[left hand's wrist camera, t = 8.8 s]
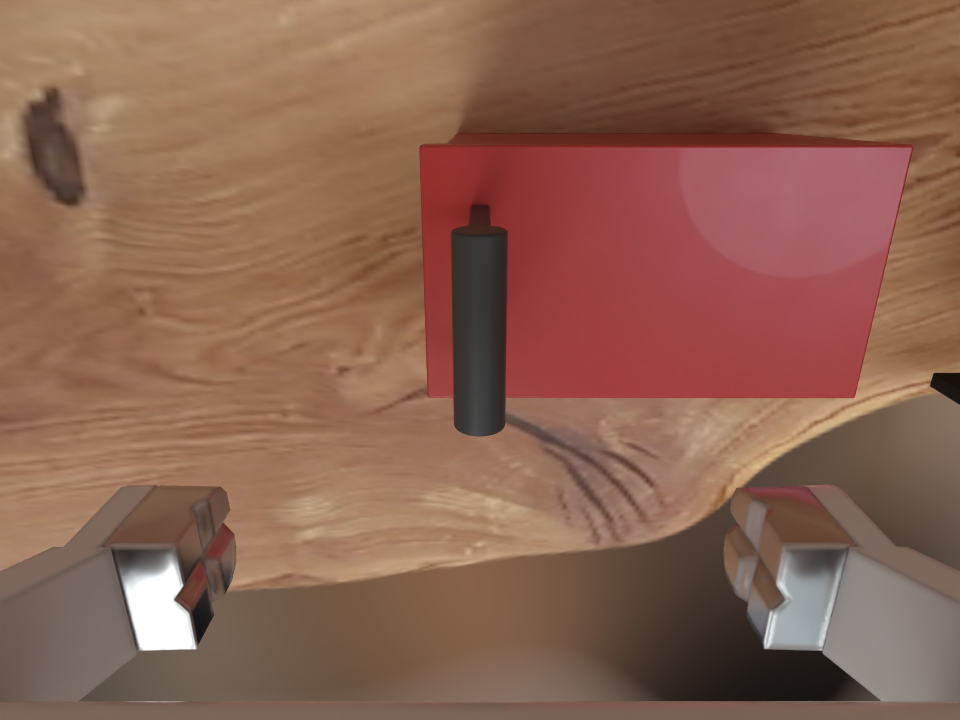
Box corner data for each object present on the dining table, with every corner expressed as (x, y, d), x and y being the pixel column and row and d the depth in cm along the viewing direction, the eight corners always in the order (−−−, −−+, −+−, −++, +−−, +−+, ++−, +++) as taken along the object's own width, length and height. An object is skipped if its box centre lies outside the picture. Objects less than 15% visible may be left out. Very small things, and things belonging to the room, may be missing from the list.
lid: (429, 386, 28) (410, 491, 20) (421, 143, 24) (394, 159, 16) (840, 387, 28) (975, 492, 20) (894, 143, 24) (1085, 159, 16)
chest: (458, 314, 37) (450, 386, 28) (456, 133, 34) (446, 143, 24) (747, 314, 37) (839, 386, 28) (776, 133, 34) (894, 143, 24)
